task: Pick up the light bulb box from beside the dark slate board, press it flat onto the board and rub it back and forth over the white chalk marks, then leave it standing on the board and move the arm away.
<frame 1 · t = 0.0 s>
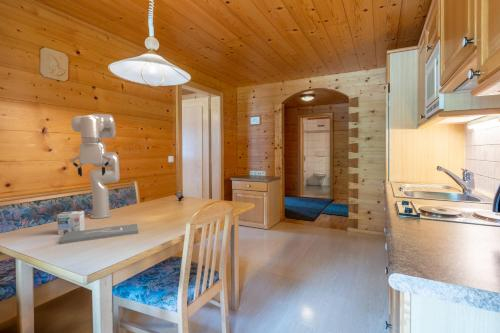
hand: (92, 175, 132), 31 cm above the table, tool pointing down, fingers open, 9 cm apart
light bulb box: (72, 232, 142), on the table
slate board: (102, 234, 138), on the table
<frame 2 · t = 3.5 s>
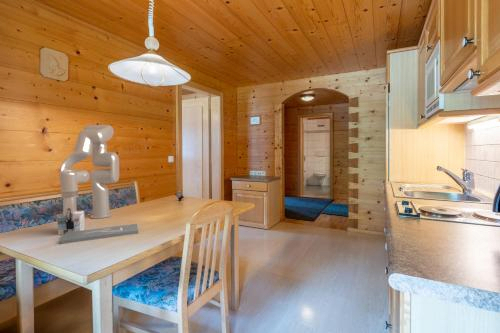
hand: (71, 226, 142), 3 cm above the table, tool pointing down, fingers closed on light bulb box, 7 cm apart
light bulb box: (72, 232, 142), on the table, touching gripper
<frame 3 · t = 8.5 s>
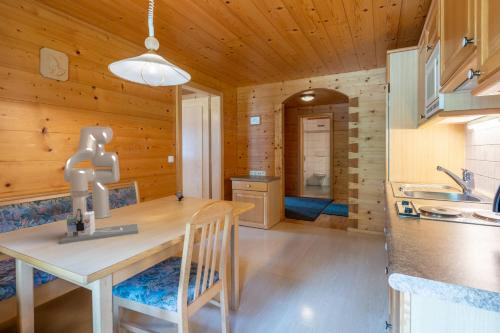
hand: (81, 228, 133), 4 cm above the table, tool pointing down, fingers closed on light bulb box, 7 cm apart
light bulb box: (81, 234, 134), point 1 cm above the table, touching gripper, slate board
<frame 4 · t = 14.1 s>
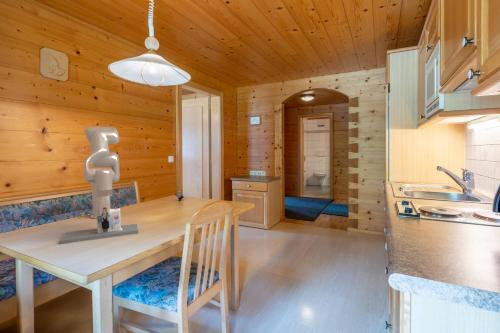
hand: (106, 226, 138), 4 cm above the table, tool pointing down, fingers open, 6 cm apart
light bulb box: (109, 230, 139), point 1 cm above the table, touching slate board
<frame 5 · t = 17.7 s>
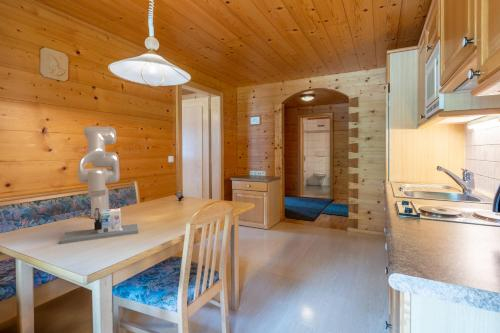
hand: (98, 227, 137), 4 cm above the table, tool pointing down, fingers open, 6 cm apart
nothing on the table moved.
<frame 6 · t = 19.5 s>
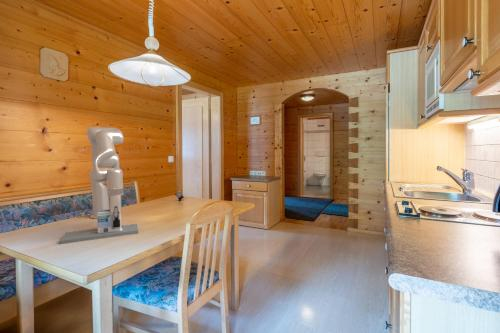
hand: (116, 225, 140), 4 cm above the table, tool pointing down, fingers open, 6 cm apart
nothing on the table moved.
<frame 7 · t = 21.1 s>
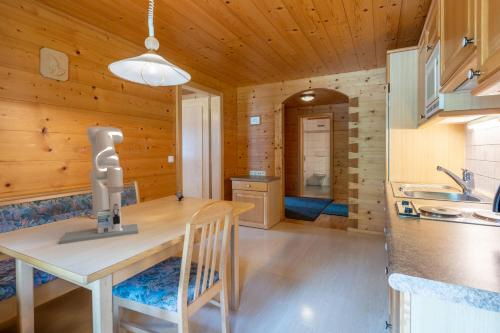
hand: (116, 221, 140), 6 cm above the table, tool pointing down, fingers open, 9 cm apart
nothing on the table moved.
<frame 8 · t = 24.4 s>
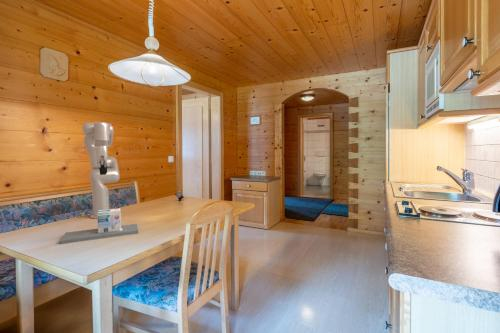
hand: (103, 173, 151), 30 cm above the table, tool pointing down, fingers open, 9 cm apart
nothing on the table moved.
at the end: light bulb box inside the target area on the slate board (1.2 cm from its centre), point 1.3 cm above the slate board's base; light bulb box tilted 0°; the gripper is holding nothing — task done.
